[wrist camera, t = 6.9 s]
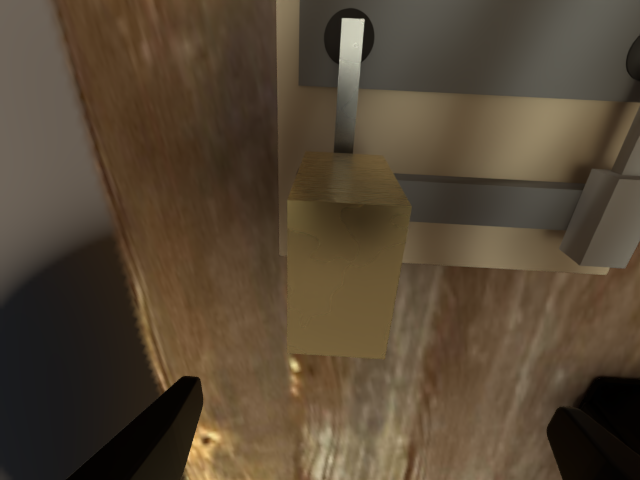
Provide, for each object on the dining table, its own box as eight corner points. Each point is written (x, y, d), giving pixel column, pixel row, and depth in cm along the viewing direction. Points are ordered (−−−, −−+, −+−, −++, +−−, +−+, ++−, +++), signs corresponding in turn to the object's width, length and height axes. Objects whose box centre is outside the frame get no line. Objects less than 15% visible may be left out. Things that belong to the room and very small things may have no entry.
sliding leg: (390, 25, 13) (454, -29, 6) (364, 242, 17) (384, 359, 10) (313, 21, 13) (287, -35, 6) (306, 238, 17) (287, 353, 10)
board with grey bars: (736, -43, 13) (885, -86, 10) (591, 263, 20) (648, 307, 16) (279, -63, 14) (260, -111, 10) (282, 245, 20) (270, 284, 16)
